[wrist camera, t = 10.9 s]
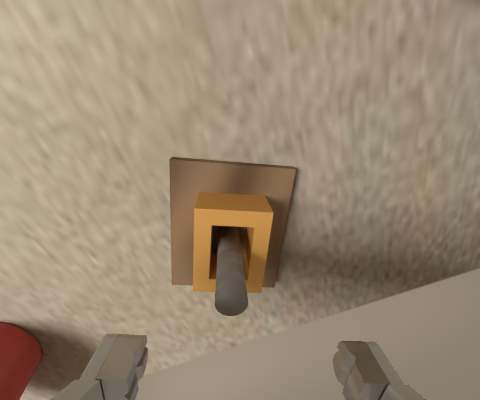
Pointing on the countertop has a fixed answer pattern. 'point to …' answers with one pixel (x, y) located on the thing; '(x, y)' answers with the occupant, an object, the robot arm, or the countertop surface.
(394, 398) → the robot arm
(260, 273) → the orange hollow square block
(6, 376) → the flower pot
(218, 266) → the peg mounting plate
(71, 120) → the countertop surface
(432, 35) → the countertop surface
